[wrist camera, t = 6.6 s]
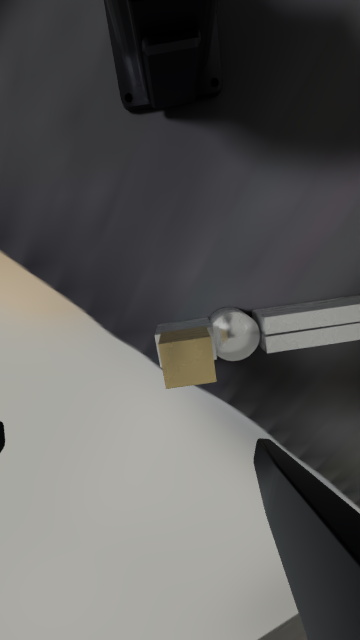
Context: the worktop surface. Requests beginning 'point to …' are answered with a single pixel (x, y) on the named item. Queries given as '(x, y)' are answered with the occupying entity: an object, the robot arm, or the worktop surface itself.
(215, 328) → the tong handle block
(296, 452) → the worktop surface
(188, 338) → the tab
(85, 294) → the worktop surface
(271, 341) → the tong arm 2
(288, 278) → the worktop surface
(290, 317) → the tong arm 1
